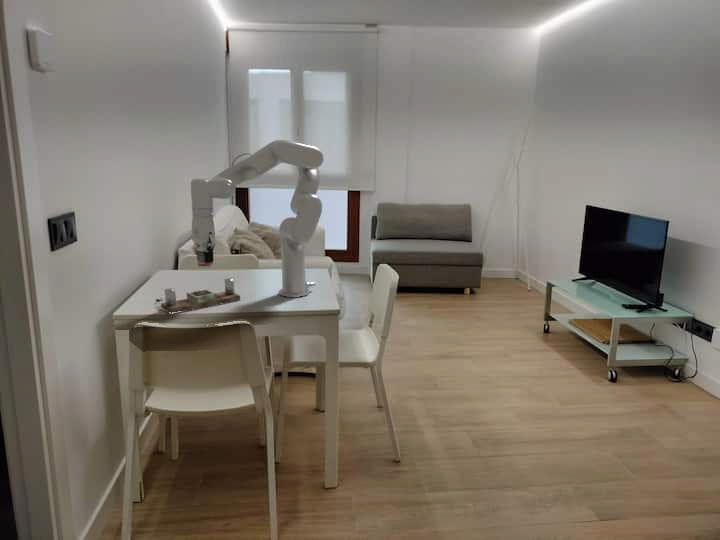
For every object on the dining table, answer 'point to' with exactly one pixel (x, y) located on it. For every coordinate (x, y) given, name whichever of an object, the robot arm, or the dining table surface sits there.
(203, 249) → the pill bottle
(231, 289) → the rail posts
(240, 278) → the dining table surface
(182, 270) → the dining table surface
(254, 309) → the dining table surface
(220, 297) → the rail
